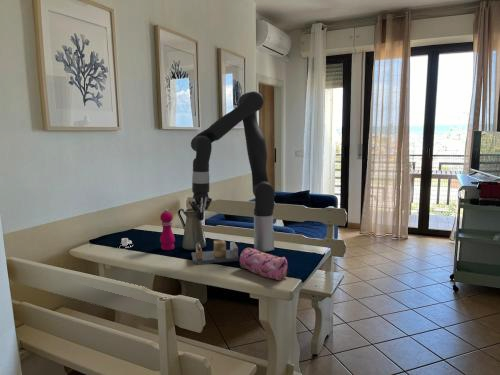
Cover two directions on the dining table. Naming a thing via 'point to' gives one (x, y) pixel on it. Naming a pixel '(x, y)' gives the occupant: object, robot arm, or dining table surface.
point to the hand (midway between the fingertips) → (200, 220)
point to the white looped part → (126, 242)
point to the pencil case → (264, 264)
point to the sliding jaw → (198, 251)
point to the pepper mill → (167, 231)
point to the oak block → (219, 248)
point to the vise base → (210, 257)
